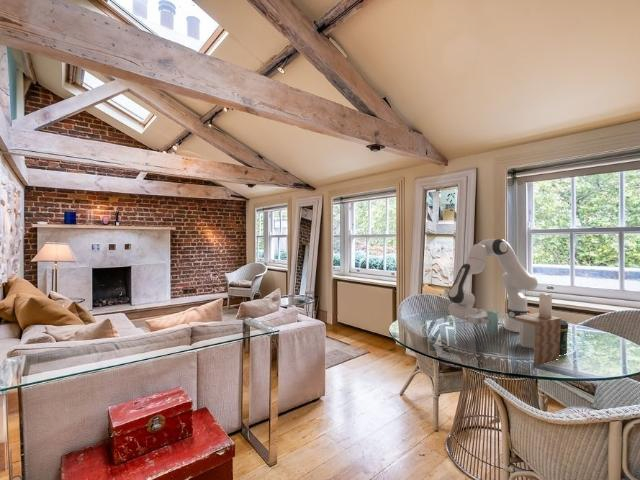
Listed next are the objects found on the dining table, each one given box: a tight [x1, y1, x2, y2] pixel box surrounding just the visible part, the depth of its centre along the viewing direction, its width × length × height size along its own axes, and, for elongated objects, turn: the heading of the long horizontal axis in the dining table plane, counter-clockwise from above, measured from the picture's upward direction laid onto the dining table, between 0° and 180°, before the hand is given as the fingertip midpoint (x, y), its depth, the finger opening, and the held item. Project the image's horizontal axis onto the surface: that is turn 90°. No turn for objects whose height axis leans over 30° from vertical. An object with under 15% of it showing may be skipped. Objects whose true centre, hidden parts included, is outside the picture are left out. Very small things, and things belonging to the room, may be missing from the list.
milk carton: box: [518, 313, 535, 349], centre depth 186 cm, size 7×7×19 cm
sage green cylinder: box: [486, 309, 499, 335], centre depth 182 cm, size 5×5×12 cm
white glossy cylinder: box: [538, 292, 553, 318], centre depth 168 cm, size 5×5×12 cm
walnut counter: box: [514, 312, 562, 366], centre depth 167 cm, size 20×12×22 cm, turn 117°
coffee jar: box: [559, 319, 569, 356], centre depth 175 cm, size 10×8×19 cm
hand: (493, 321), depth 181 cm, fingers closed on sage green cylinder, 5 cm apart
